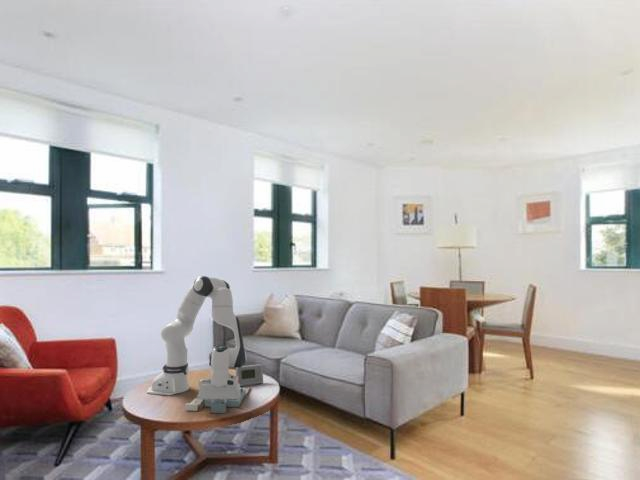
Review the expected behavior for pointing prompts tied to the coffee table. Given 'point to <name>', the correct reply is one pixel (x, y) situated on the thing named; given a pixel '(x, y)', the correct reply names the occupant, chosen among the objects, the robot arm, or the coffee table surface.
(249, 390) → the guide rails
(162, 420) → the coffee table surface
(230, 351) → the robot arm
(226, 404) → the pull frame
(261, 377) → the digital clock
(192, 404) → the beige long bar
